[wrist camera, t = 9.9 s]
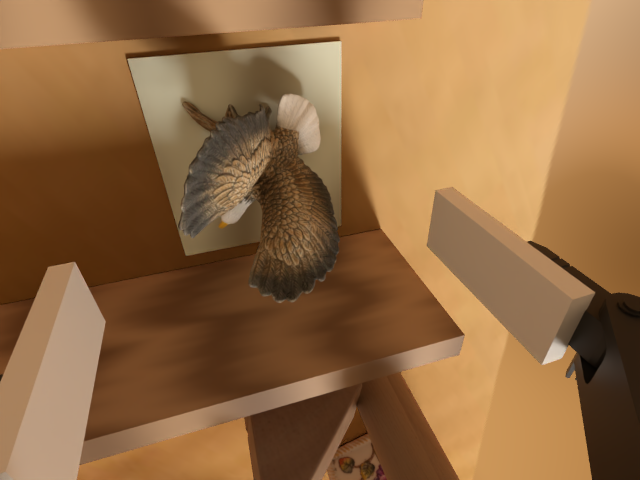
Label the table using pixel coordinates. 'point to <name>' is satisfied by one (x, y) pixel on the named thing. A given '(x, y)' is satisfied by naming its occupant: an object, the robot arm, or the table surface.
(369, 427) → the wooden block
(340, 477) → the decorative jar
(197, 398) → the wall board
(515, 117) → the table surface
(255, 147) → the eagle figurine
